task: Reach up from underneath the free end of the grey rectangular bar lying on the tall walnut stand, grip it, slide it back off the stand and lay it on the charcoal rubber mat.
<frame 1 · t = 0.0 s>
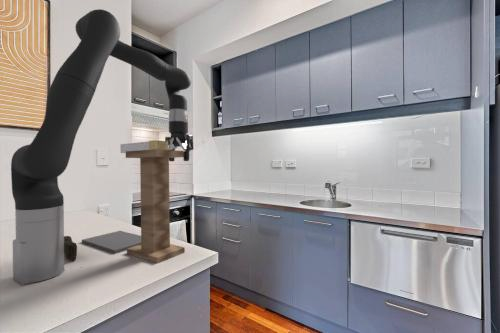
hand: (178, 161, 99), 29 cm above the worktop, tool pointing down, fingers open, 8 cm apart
grey rectangular bar: (142, 152, 80), point 32 cm above the worktop, touching walnut stand
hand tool: (70, 254, 77), on the worktop
walnut stand: (155, 252, 76), on the worktop
rubber mat: (117, 242, 88), on the worktop
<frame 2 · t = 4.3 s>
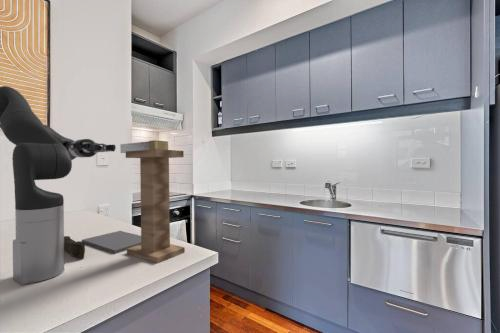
hand: (103, 146, 93), 35 cm above the worktop, tool horizontal, fingers open, 8 cm apart
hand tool: (74, 253, 78), on the worktop
everything else where it was.
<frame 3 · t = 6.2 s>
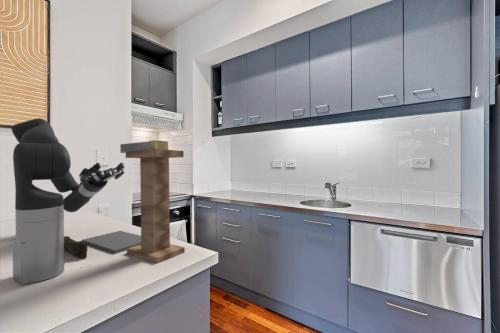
hand: (111, 164, 89), 28 cm above the worktop, tool pointing upward, fingers open, 8 cm apart
nothing on the worktop moved.
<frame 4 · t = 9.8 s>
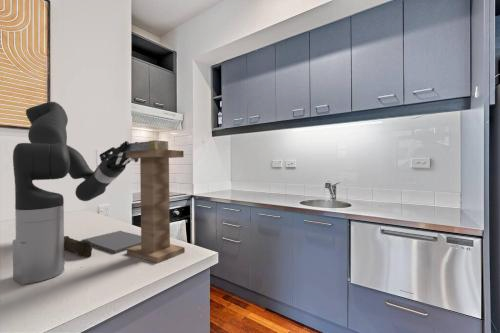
hand: (132, 143, 82), 35 cm above the worktop, tool pointing upward, fingers closed on grey rectangular bar, 3 cm apart
grey rectangular bar: (142, 152, 80), point 32 cm above the worktop, touching gripper, walnut stand
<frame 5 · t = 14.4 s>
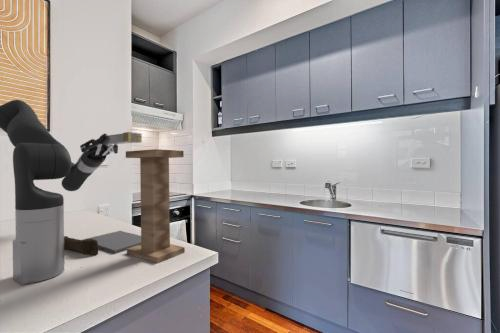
hand: (111, 136, 90), 39 cm above the worktop, tool pointing upward, fingers closed on grey rectangular bar, 3 cm apart
grey rectangular bar: (118, 143, 87), point 36 cm above the worktop, touching gripper
when the fingers open (13 cm above the worktop, at t = 19.2 s): grey rectangular bar drops 7 cm, resting on rubber mat.
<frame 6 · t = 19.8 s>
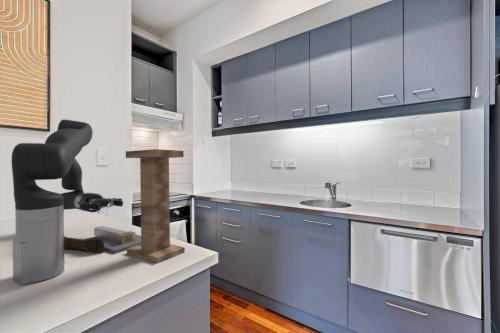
hand: (110, 205, 90), 13 cm above the worktop, tool horizontal, fingers open, 8 cm apart
grey rectangular bar: (112, 238, 89), point 1 cm above the worktop, touching rubber mat
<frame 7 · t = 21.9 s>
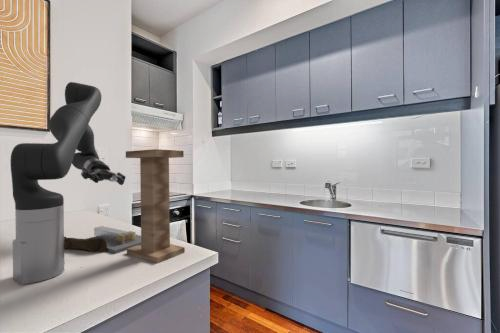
hand: (110, 181, 89), 22 cm above the worktop, tool tilted 75°, fingers open, 8 cm apart
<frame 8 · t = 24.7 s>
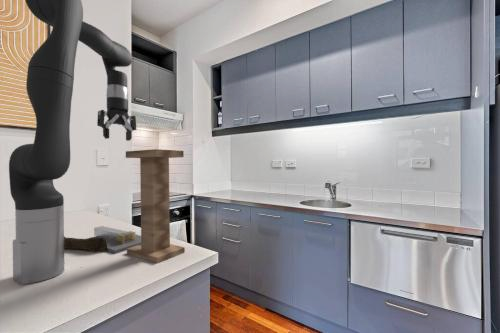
hand: (118, 139, 96), 38 cm above the worktop, tool pointing down, fingers open, 8 cm apart
at the end: grey rectangular bar inside the target area (0.4 cm from its centre), point 1.0 cm above the worktop; grey rectangular bar moved 35.7 cm from its start; the gripper is holding nothing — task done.
